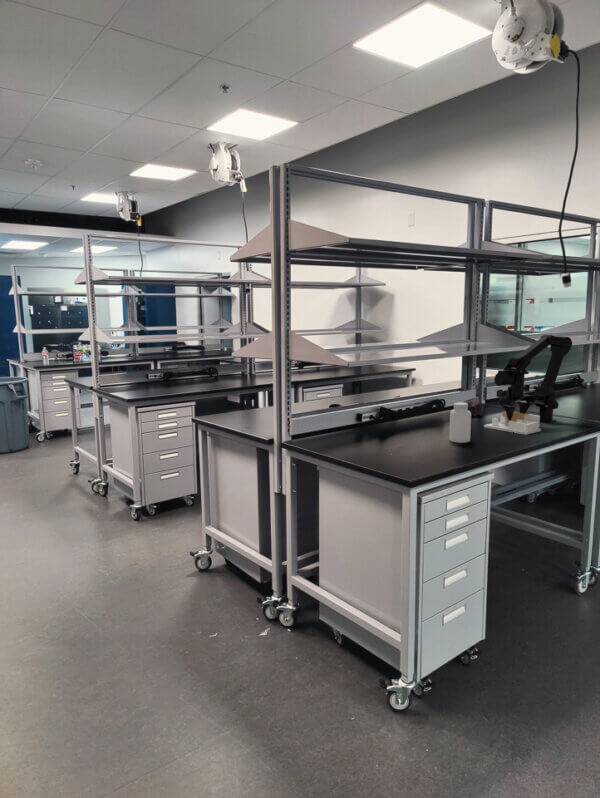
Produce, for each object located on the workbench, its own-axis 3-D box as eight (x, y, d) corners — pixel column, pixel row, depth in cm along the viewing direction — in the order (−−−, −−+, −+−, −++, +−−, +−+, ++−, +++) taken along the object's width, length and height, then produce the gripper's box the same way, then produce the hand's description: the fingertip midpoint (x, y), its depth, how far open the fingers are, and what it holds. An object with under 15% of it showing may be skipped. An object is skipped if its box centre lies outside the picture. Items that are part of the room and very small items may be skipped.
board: (498, 423, 243) (499, 415, 242) (540, 431, 227) (541, 421, 226) (484, 427, 236) (484, 418, 236) (526, 434, 220) (526, 425, 220)
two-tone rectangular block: (507, 421, 247) (507, 410, 246) (539, 426, 235) (539, 415, 234) (501, 422, 245) (502, 412, 244) (533, 428, 232) (534, 417, 231)
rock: (457, 418, 263) (476, 420, 256) (456, 401, 261) (475, 403, 254) (468, 411, 271) (487, 413, 264) (467, 395, 269) (486, 396, 262)
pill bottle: (455, 443, 208) (456, 405, 206) (445, 439, 216) (446, 402, 213) (474, 442, 210) (475, 404, 207) (463, 437, 217) (465, 401, 215)
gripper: (512, 381, 251) (511, 414, 253) (488, 384, 240) (487, 419, 242) (535, 383, 242) (533, 417, 244) (511, 387, 231) (509, 422, 233)
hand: (515, 419), depth 241 cm, fingers open, 9 cm apart
